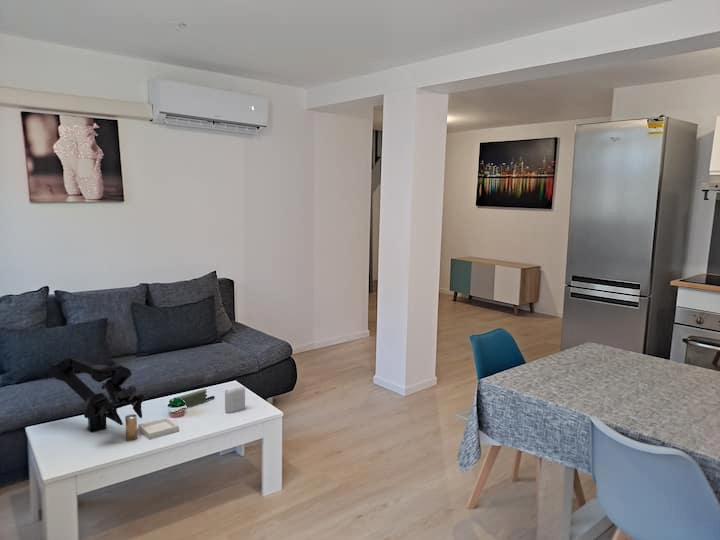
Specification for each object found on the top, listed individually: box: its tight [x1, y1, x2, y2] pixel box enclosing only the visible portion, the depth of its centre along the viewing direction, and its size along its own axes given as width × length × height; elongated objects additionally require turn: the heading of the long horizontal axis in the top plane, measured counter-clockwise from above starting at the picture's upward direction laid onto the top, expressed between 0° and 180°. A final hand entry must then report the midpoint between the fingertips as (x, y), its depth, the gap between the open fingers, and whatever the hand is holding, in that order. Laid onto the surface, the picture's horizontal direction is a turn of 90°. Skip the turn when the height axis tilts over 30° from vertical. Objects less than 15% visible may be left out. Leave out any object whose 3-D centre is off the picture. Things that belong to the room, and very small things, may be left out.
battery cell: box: [124, 414, 138, 442], centre depth 226 cm, size 4×4×10 cm
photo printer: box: [224, 384, 246, 414], centre depth 260 cm, size 10×4×12 cm, turn 134°
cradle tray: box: [137, 417, 180, 440], centre depth 236 cm, size 13×13×2 cm
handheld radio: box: [169, 388, 216, 409], centre depth 266 cm, size 7×3×25 cm
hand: (131, 421), depth 226 cm, fingers open, 9 cm apart
